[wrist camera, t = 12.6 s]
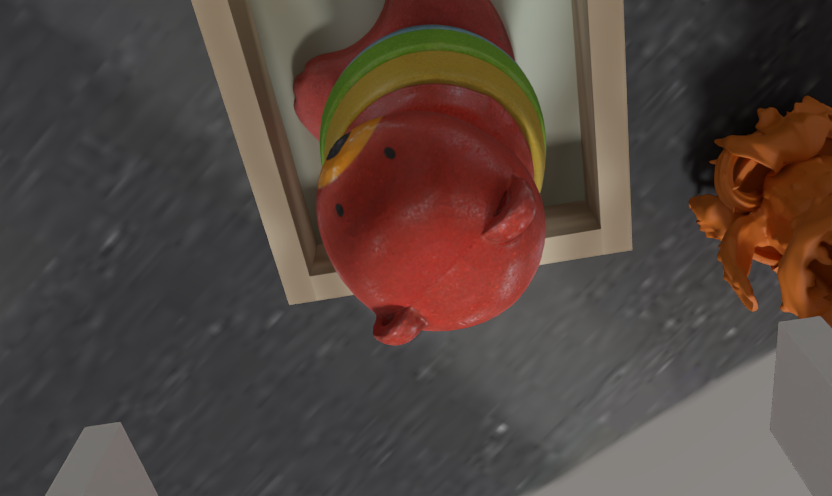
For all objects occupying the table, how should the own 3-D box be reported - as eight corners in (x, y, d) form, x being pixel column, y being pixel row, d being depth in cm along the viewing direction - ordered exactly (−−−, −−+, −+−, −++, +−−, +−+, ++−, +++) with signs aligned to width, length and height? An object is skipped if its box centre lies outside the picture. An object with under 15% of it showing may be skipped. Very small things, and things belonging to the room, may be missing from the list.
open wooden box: (300, 262, 41) (289, 304, 37) (200, -69, 32) (171, -61, 28) (609, 211, 39) (632, 250, 35) (590, -149, 31) (617, -152, 27)
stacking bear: (435, -69, 31) (462, -8, 16) (570, 92, 35) (702, 272, 19) (275, 93, 35) (167, 275, 19) (413, 224, 38) (417, 467, 23)
